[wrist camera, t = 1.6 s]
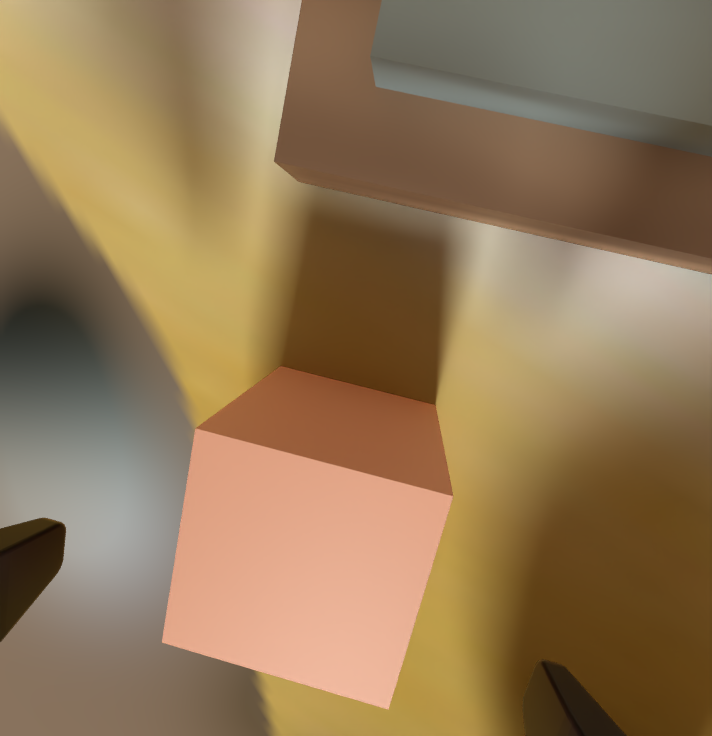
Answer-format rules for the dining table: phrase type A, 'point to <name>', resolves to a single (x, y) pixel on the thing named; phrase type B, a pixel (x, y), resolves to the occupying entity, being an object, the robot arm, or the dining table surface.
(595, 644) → the dining table surface
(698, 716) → the dining table surface
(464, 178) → the plinth
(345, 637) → the terracotta brick
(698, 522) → the dining table surface
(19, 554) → the robot arm
